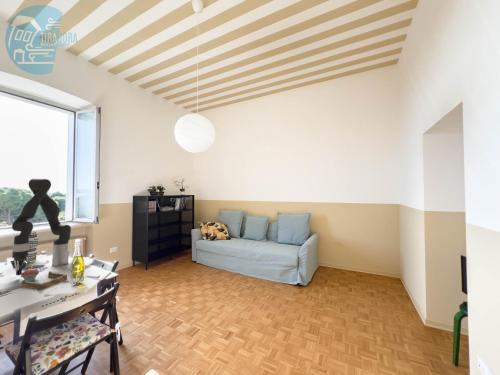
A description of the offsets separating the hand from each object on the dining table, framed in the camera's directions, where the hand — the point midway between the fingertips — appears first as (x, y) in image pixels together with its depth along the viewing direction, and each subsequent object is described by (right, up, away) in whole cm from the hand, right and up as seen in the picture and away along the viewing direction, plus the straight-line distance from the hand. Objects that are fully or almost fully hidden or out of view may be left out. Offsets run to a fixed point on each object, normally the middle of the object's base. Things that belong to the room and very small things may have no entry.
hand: (18, 274), depth 143 cm
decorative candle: (-28, -2, +32) cm, 43 cm away
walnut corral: (+23, -4, -4) cm, 23 cm away
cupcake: (+10, -3, -2) cm, 10 cm away
